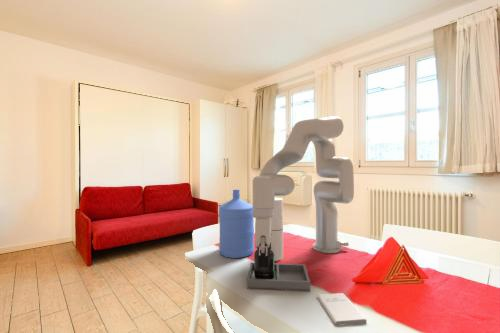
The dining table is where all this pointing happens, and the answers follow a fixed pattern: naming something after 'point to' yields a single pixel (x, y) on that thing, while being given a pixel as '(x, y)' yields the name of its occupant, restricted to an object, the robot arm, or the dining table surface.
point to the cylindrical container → (277, 230)
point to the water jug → (236, 228)
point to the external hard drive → (341, 309)
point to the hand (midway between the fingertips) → (263, 261)
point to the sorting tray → (281, 278)
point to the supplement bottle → (264, 272)
